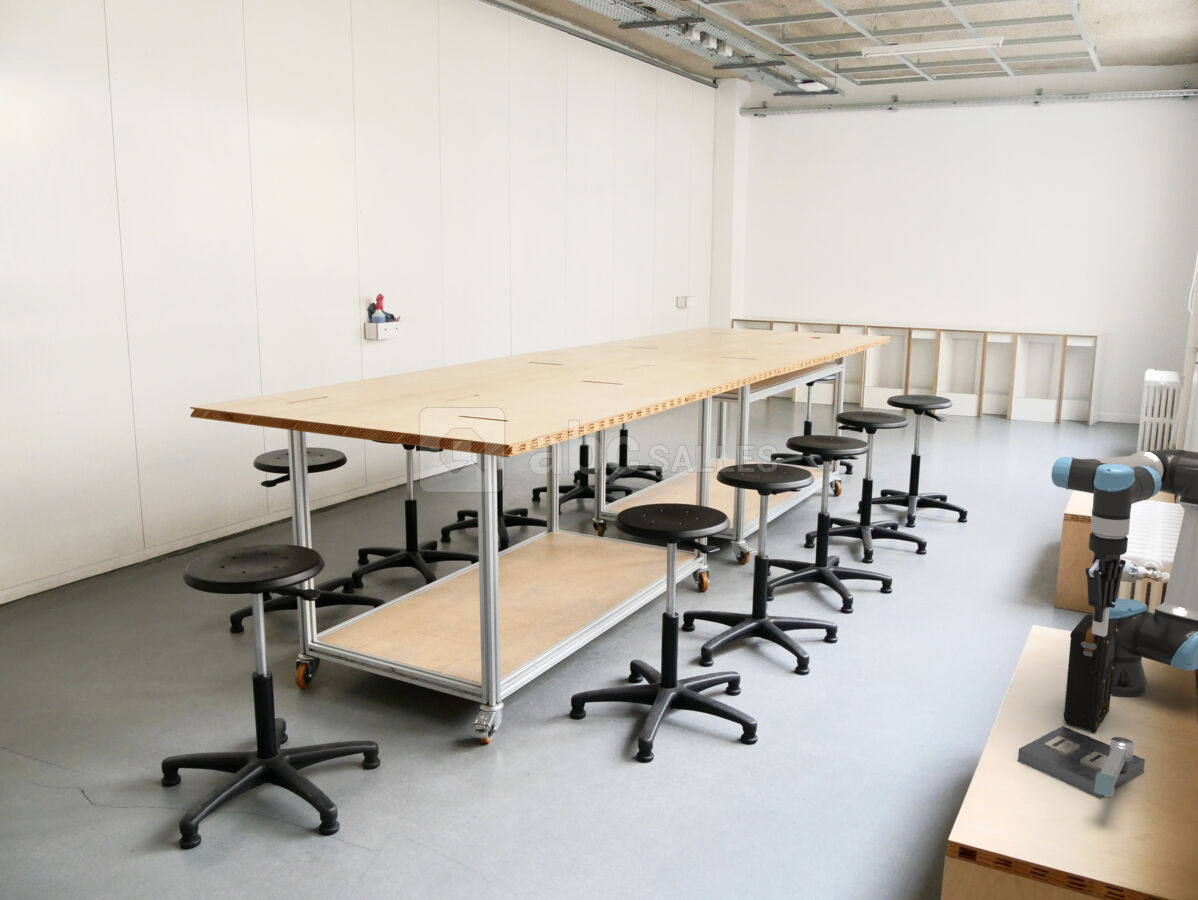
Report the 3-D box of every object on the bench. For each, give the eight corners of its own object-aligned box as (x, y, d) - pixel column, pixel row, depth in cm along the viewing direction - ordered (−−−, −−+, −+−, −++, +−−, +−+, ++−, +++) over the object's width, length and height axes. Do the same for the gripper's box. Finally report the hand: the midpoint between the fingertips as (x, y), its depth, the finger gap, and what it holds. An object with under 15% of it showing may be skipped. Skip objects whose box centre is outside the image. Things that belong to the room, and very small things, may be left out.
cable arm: (1090, 791, 193) (1092, 775, 193) (1111, 749, 209) (1112, 734, 209) (1115, 798, 191) (1116, 782, 190) (1134, 755, 207) (1135, 740, 206)
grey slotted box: (1061, 737, 227) (1063, 714, 226) (1145, 772, 211) (1148, 747, 210) (1017, 760, 217) (1019, 736, 216) (1102, 799, 201) (1105, 773, 200)
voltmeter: (1098, 736, 227) (1108, 637, 222) (1059, 725, 233) (1068, 629, 228) (1113, 711, 239) (1122, 617, 234) (1076, 702, 245) (1084, 610, 240)
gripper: (1107, 525, 218) (1098, 622, 223) (1076, 535, 211) (1067, 635, 215) (1141, 532, 212) (1130, 632, 217) (1110, 543, 205) (1100, 646, 209)
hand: (1099, 634), depth 216 cm, fingers closed
